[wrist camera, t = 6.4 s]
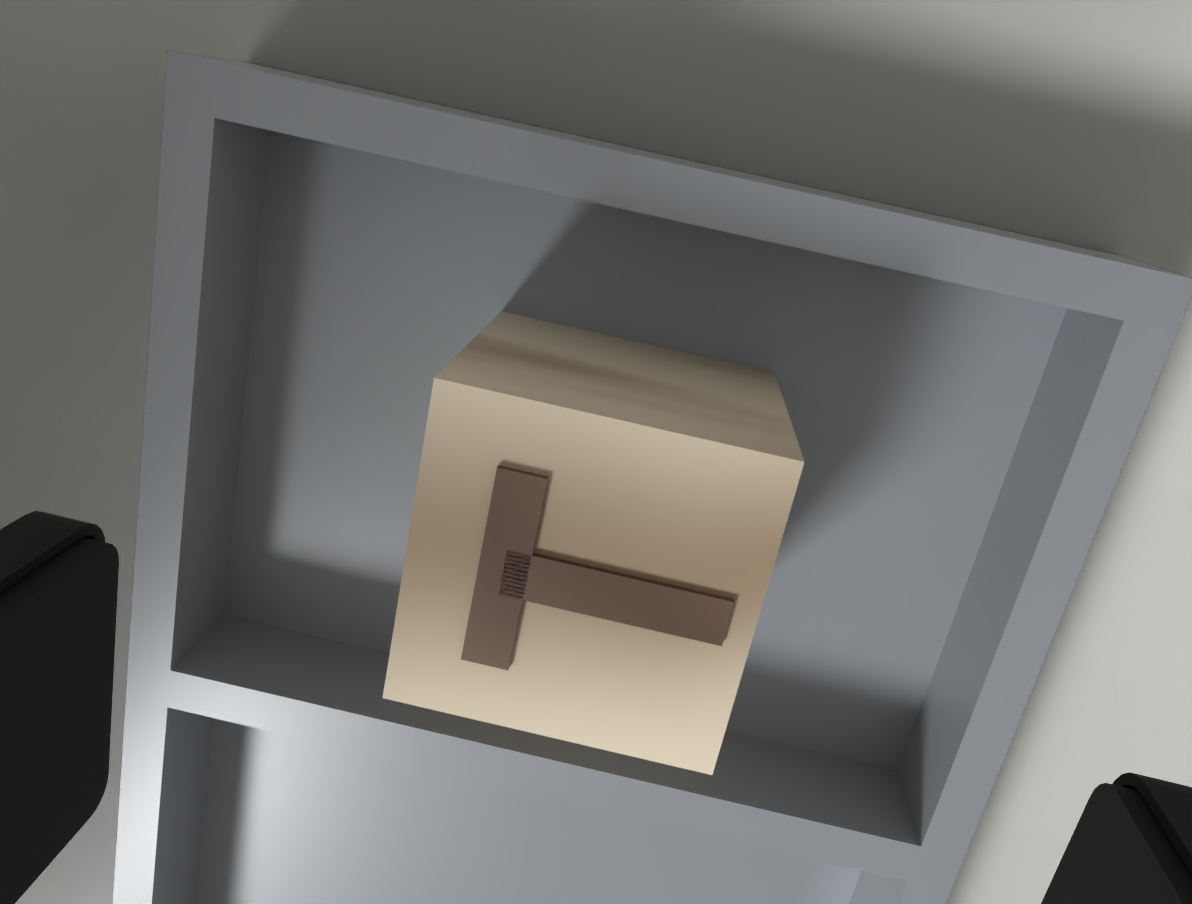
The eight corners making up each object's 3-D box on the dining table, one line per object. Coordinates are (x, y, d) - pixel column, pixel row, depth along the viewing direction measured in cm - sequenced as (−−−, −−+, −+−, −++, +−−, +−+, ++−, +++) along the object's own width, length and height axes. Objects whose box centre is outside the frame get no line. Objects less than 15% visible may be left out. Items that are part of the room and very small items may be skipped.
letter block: (707, 617, 20) (712, 779, 15) (457, 559, 20) (380, 701, 15) (774, 372, 18) (804, 464, 13) (501, 310, 18) (432, 378, 13)
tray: (783, 1150, 24) (795, 1275, 22) (162, 1000, 25) (99, 1106, 22) (1121, 256, 17) (1198, 280, 15) (245, 61, 18) (167, 51, 15)
